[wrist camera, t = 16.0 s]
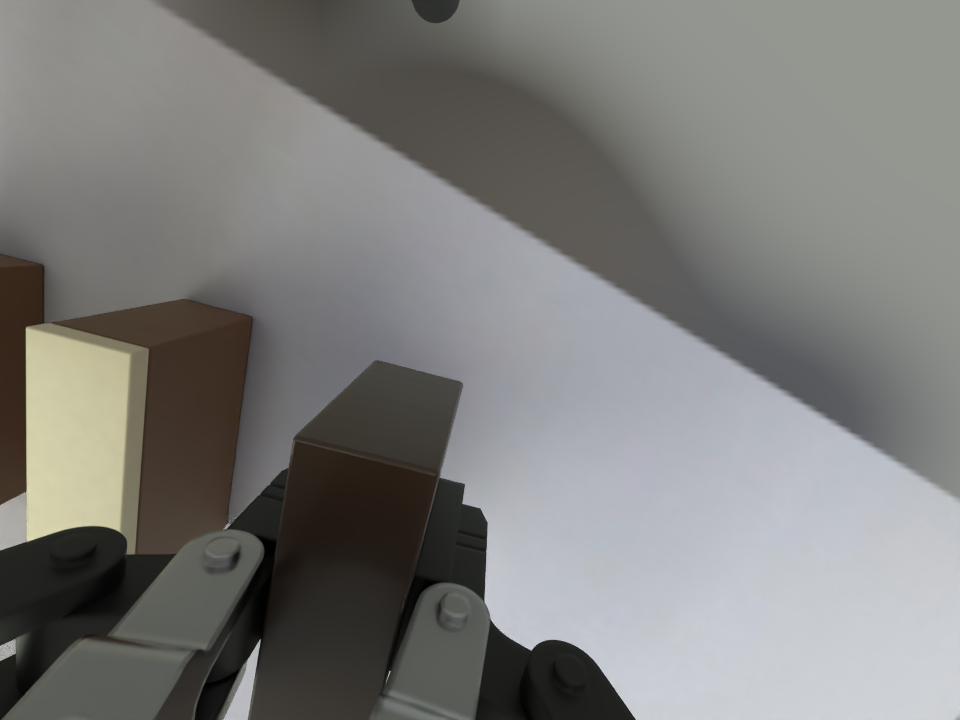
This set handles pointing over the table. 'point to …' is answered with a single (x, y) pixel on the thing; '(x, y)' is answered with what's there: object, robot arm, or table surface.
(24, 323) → the cake
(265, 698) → the knife
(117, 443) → the cake slice
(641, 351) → the table surface
